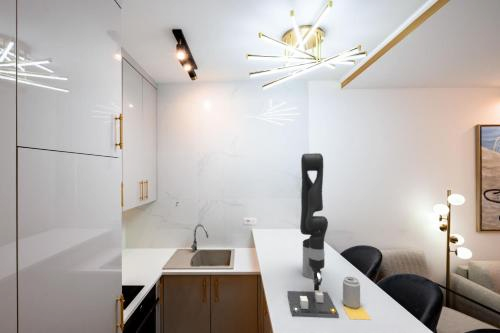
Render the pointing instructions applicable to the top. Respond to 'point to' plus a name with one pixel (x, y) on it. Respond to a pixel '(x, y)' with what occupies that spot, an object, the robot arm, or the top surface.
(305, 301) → the block
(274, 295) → the top surface
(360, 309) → the pad
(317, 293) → the block
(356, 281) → the can
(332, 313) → the panel
